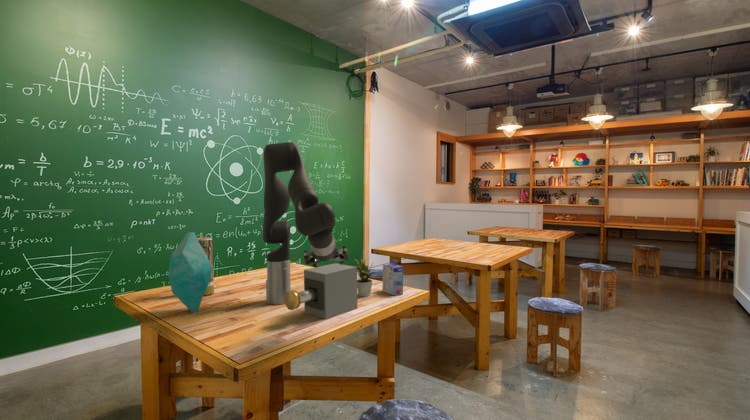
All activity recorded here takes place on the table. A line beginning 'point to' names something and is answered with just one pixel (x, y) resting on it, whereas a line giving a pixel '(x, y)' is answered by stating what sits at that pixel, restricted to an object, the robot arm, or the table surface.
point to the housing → (334, 289)
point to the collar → (320, 293)
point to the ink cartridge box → (393, 278)
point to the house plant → (364, 279)
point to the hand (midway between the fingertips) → (328, 263)
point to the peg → (299, 298)
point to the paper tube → (208, 249)
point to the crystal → (189, 272)
